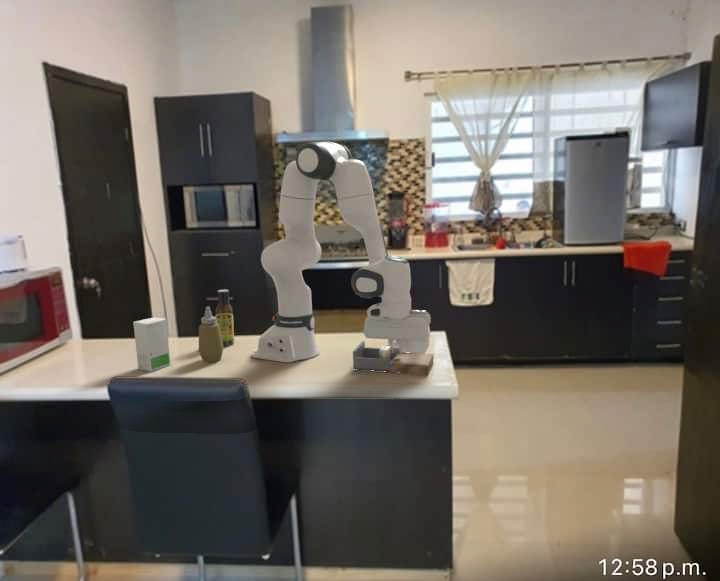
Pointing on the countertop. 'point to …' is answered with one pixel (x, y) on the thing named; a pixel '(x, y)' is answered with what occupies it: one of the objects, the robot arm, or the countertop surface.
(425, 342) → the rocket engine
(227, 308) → the sauce bottle
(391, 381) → the countertop surface
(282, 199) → the robot arm
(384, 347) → the tile
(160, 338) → the skincare box
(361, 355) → the box
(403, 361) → the bench plate
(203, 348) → the squeeze bottle
